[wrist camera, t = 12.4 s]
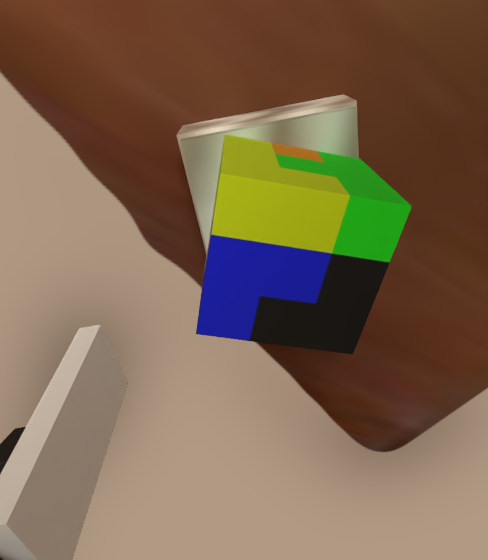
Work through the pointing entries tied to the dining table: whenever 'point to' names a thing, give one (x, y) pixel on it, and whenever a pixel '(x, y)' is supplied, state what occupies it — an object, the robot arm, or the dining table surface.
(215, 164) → the plinth
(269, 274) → the puzzle toy
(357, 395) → the dining table surface
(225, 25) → the dining table surface
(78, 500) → the robot arm
